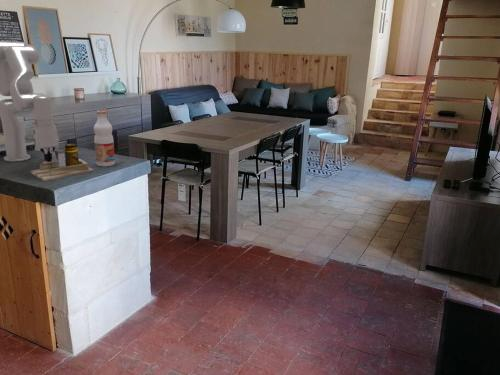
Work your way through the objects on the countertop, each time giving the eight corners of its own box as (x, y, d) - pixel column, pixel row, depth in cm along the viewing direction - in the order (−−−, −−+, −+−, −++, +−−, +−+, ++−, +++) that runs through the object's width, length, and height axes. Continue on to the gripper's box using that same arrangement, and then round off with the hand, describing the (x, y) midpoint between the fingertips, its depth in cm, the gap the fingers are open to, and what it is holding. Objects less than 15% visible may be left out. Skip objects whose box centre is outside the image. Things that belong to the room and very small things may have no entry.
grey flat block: (51, 168, 211) (49, 148, 208) (57, 167, 213) (55, 147, 210) (60, 173, 204) (57, 152, 201) (66, 172, 206) (64, 151, 203)
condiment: (81, 169, 213) (79, 145, 209) (63, 171, 208) (61, 147, 204) (77, 165, 219) (75, 142, 215) (60, 167, 214) (57, 144, 210)
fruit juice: (98, 162, 231) (94, 109, 222) (116, 162, 232) (113, 109, 223) (94, 166, 222) (89, 112, 213) (112, 167, 223) (109, 112, 214)
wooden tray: (30, 173, 208) (29, 164, 206) (79, 165, 224) (78, 157, 223) (43, 180, 197) (42, 172, 196) (93, 171, 213) (93, 163, 212)
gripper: (30, 125, 191) (35, 165, 197) (63, 122, 201) (67, 160, 207) (24, 123, 196) (29, 162, 202) (57, 120, 206) (61, 157, 212)
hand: (48, 161), depth 204 cm, fingers closed
